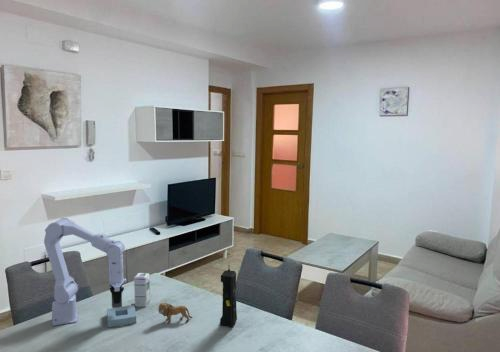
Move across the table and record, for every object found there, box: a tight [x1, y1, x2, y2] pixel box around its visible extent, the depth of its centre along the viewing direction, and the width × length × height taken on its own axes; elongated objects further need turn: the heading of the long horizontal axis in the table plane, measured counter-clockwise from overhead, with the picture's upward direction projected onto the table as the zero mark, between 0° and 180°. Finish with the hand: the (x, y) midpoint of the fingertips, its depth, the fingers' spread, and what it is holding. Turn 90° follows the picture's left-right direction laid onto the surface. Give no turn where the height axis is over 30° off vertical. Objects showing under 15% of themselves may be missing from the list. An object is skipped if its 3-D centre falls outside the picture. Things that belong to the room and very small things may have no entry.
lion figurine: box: [157, 302, 193, 324], centre depth 167 cm, size 15×5×9 cm, turn 110°
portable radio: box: [219, 264, 238, 328], centre depth 165 cm, size 8×6×25 cm
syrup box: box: [133, 272, 151, 308], centre depth 182 cm, size 6×6×14 cm
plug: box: [111, 294, 123, 308], centre depth 165 cm, size 4×4×6 cm
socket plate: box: [106, 304, 137, 328], centre depth 168 cm, size 12×12×3 cm
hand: (117, 300), depth 166 cm, fingers closed on plug, 4 cm apart
